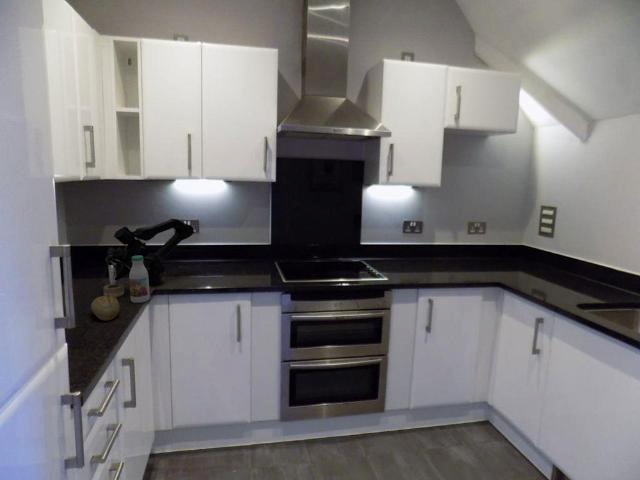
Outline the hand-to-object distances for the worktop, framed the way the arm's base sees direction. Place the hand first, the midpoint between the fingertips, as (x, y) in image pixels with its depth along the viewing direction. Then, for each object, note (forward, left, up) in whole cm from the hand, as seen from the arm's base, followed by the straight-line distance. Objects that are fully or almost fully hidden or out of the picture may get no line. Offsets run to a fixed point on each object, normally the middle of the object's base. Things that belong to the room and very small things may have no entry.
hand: (109, 278), depth 183 cm
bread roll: (+19, +19, -8) cm, 28 cm away
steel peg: (-1, 0, -8) cm, 8 cm away
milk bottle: (-1, +17, -8) cm, 19 cm away
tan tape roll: (-1, 0, -8) cm, 8 cm away
